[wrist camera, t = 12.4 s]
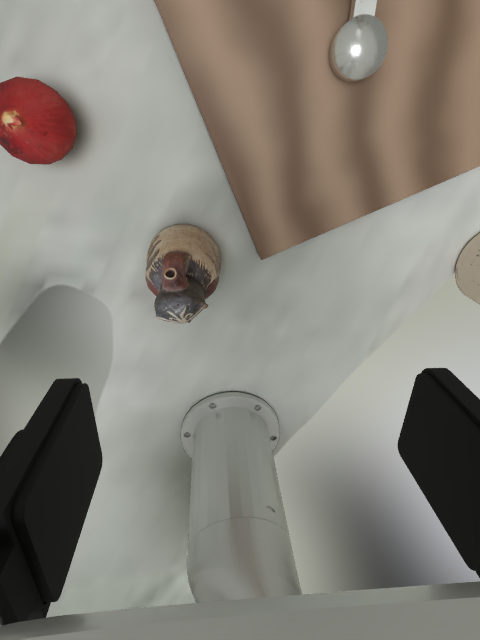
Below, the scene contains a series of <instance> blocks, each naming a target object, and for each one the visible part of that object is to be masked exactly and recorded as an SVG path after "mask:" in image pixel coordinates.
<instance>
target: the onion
mask: <svg viewBox="0 0 480 640" xmlns="http://www.w3.org/2000/svg"><path fill="white" fill-rule="evenodd" d="M75 138H76V123H75V118H74V116H73V113H72V111H71V109H70V107H69V105H68V103H67V102H66V101H65V100H64V99H63V98H62V97H61V96H60V95H59V94H58V92H57V91H55V90H54V89H52V88H51V87H49V86H47V85H46V84H44V83H42V82H41V81H39V80H36V79H29V78H22V77H15V78H12V79H9V80H7V81H4V82H2V83H0V145H1V146H3V147H4V148H5V149H6V150H7V151H8V152H9V153H10V154H11V155H12V156H13V157H16V158H18V159H20V160H23V161H25V162H27V163H29V164H51V163H53V162H56V161H58V160H61V159H62V158H63V157H64V156H65V155H66V154H67V153H68V152H69V151H70V150H71V149H72V148H73V144H74V141H75Z"/></svg>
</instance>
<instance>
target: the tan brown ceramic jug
mask: <svg viewBox="0 0 480 640" xmlns="http://www.w3.org/2000/svg"><path fill="white" fill-rule="evenodd" d="M220 267H221V258H220V252H219V249H218V246H217V244H216V242H215V241H214V239H213V238H212V237H211V236H210V235H209V234H208V233H207V232H205V231H204V230H202V229H200V228H198V227H196V226H192V225H189V224H179V225H174V226H170V227H167V228H165V229H164V230H162V231H161V232H160V233H158V234H157V235H156V236H155V238H154V239H153V240H152V242H151V245H150V247H149V250H148V255H147V267H146V282H147V285H148V287H149V288H150V290H151V291H152V292H153V293H154V294H155V295H156V296H157V297H156V300H155V305H154V307H155V310H156V317H157V318H158V319H161V320H164V321H169V322H175V323H186V322H188V323H189V322H191V320H192V319H193V318H194V317H195V316H196V315H197V314H198V313H200V312H201V311H202V310H203V309H205V308H207V307H208V305H207V304H206V303H205V299H206V298H208V297H209V296H210V295H211V294H212V293H213V292H214V291H215V289H216V287H217V284H218V281H219V272H220Z"/></svg>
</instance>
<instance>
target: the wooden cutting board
mask: <svg viewBox="0 0 480 640" xmlns="http://www.w3.org/2000/svg"><path fill="white" fill-rule="evenodd" d="M351 2H352V0H155V3H156V5H157V7H158V10H159V12H160V15H161V17H162V20H163V22H164V24H165V27H166V29H167V32H168V34H169V37H170V39H171V42H172V44H173V46H174V49H175V51H176V54H177V56H178V59H179V61H180V63H181V66H182V68H183V71H184V73H185V76H186V78H187V81H188V83H189V85H190V88H191V90H192V93H193V95H194V98H195V100H196V102H197V105H198V107H199V110H200V112H201V115H202V117H203V120H204V122H205V124H206V127H207V129H208V132H209V134H210V137H211V139H212V141H213V144H214V146H215V149H216V151H217V154H218V156H219V159H220V161H221V163H222V166H223V168H224V171H225V173H226V176H227V178H228V180H229V183H230V185H231V188H232V190H233V193H234V195H235V198H236V200H237V202H238V205H239V207H240V210H241V212H242V215H243V217H244V219H245V222H246V224H247V227H248V229H249V232H250V234H251V237H252V239H253V241H254V244H255V246H256V249H257V251H258V254H259V256H260V258H261V260H262V259H265V258H267V257H269V256H272V255H274V254H276V253H279V252H281V251H283V250H286V249H288V248H290V247H293V246H295V245H297V244H300V243H302V242H304V241H307V240H309V239H311V238H314V237H316V236H318V235H321V234H323V233H325V232H328V231H330V230H332V229H335V228H337V227H339V226H342V225H344V224H346V223H349V222H351V221H353V220H355V219H358V218H360V217H362V216H365V215H367V214H369V213H372V212H374V211H376V210H379V209H381V208H383V207H386V206H388V205H390V204H393V203H395V202H397V201H400V200H402V199H404V198H407V197H409V196H411V195H414V194H416V193H418V192H421V191H423V190H425V189H428V188H430V187H432V186H435V185H437V184H439V183H442V182H444V181H446V180H449V179H451V178H453V177H455V176H458V175H460V174H462V173H465V172H467V171H469V170H472V169H474V168H476V167H479V166H480V0H377V4H376V10H375V16H374V17H376V18H378V19H379V20H380V21H381V22H382V24H383V25H384V27H385V29H386V32H387V37H388V47H387V52H386V56H385V58H384V61H383V63H382V64H381V66H380V67H379V68H378V70H377V71H376V72H375V73H373V74H372V75H370V76H369V77H366V78H364V79H361V80H358V81H355V82H347V81H344V80H342V79H340V78H339V77H338V76H337V75H336V74H335V73H334V71H333V69H332V67H331V64H330V58H329V52H330V46H331V42H332V40H333V38H334V36H335V34H336V33H337V31H338V30H339V29H340V28H341V27H342V26H343V25H344V24H346V23H347V22H348V21H349V16H350V9H351Z"/></svg>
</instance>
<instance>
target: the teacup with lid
mask: <svg viewBox="0 0 480 640" xmlns="http://www.w3.org/2000/svg"><path fill="white" fill-rule="evenodd" d="M455 278H456V283H457V286H458V288H459V289H460V291H462V293H463V294H464V295H465V296H467V297H469V298H470V299H472V300H473V301H475V302H477V303H478V304H480V233H479V234H478V235H476V236H475V237H474V238H473V239H472V240H471V241H470V242H469V243H468V244H467V245H466V246H465V248H464V249H463V251H462V253H461V254H460V256H459V259H458V261H457V264H456V269H455Z"/></svg>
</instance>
